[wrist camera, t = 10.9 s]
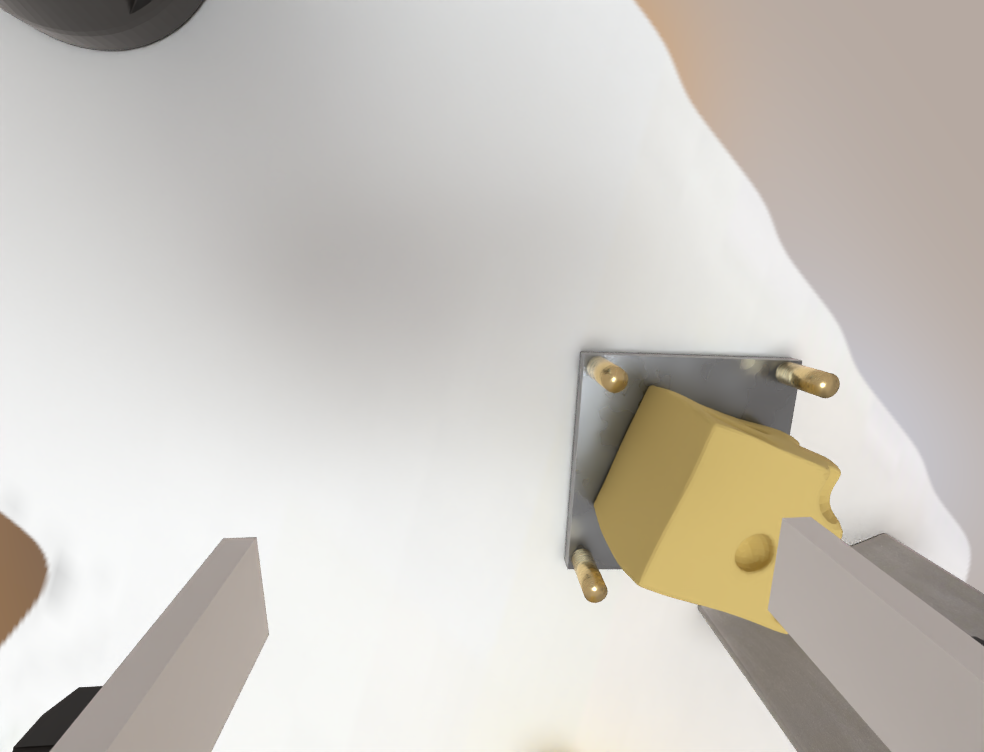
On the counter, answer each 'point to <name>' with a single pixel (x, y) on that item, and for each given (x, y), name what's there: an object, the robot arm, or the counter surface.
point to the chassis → (615, 400)
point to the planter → (800, 683)
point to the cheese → (708, 503)
